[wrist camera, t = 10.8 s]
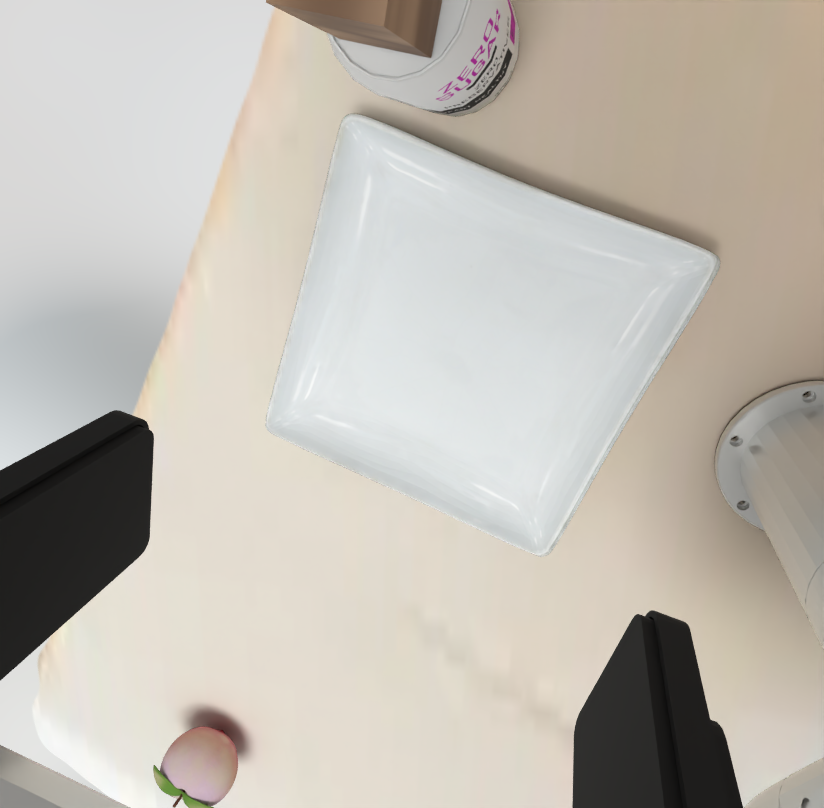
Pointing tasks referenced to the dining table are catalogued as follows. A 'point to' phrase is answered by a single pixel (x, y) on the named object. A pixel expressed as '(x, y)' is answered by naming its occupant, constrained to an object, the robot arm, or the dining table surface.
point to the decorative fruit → (198, 768)
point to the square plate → (474, 333)
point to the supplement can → (443, 60)
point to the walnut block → (372, 21)
